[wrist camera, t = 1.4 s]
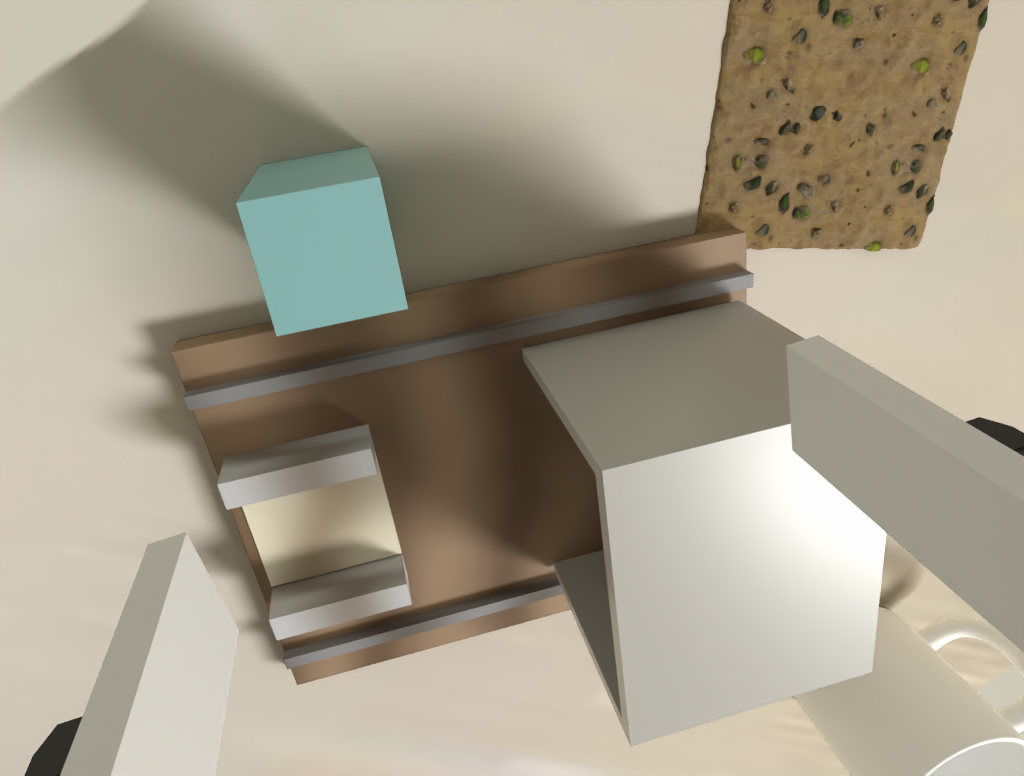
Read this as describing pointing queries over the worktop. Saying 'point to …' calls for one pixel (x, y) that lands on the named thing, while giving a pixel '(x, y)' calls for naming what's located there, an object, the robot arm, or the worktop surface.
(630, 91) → the worktop surface
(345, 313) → the teal block
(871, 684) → the cup
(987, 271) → the worktop surface
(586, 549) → the board
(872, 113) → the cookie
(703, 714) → the housing
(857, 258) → the worktop surface
